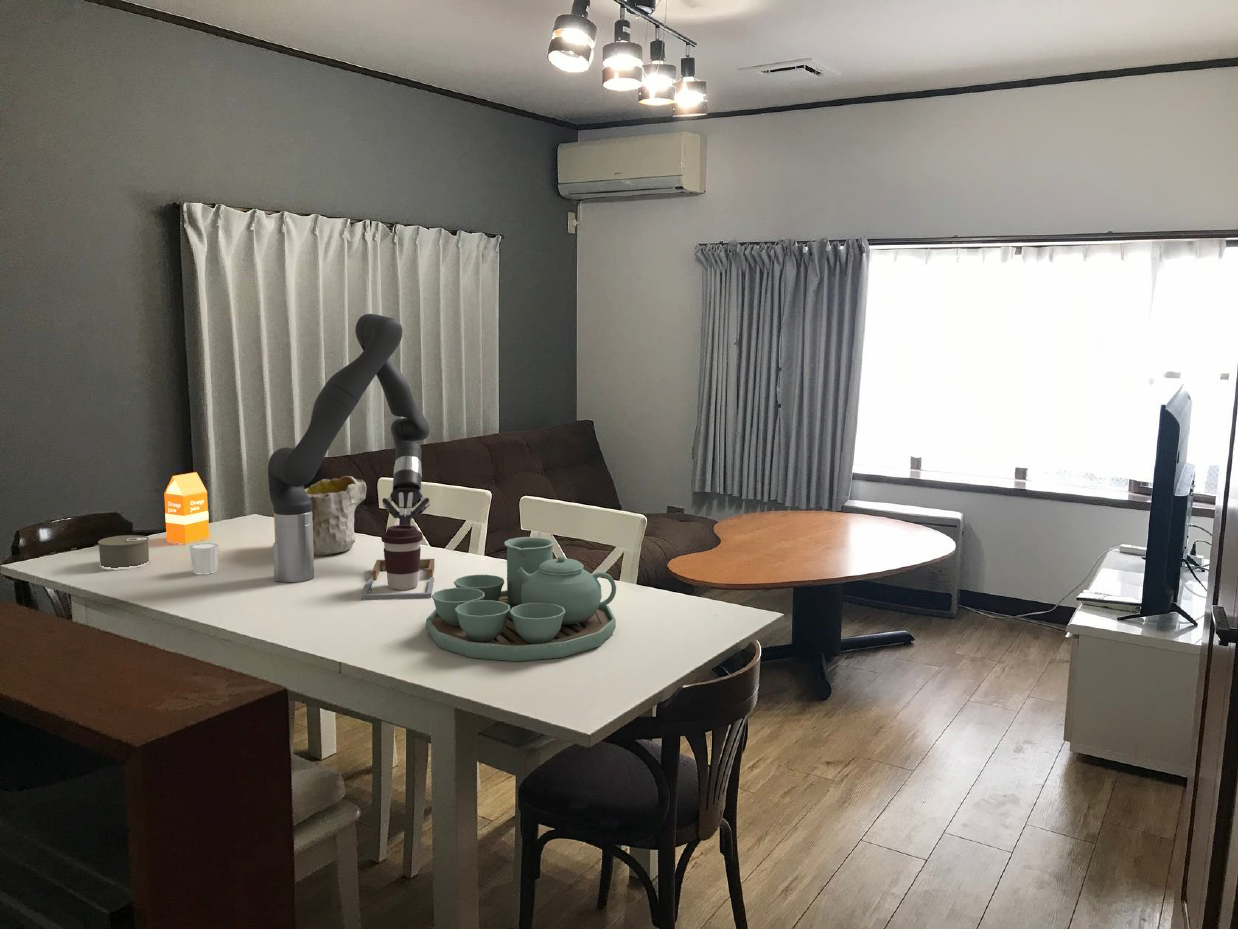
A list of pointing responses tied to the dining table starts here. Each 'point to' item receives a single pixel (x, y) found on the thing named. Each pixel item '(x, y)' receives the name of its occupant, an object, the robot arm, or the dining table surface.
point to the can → (124, 551)
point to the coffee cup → (402, 556)
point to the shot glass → (204, 558)
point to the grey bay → (397, 595)
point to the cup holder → (423, 565)
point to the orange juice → (186, 509)
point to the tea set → (524, 608)
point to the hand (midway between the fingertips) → (404, 529)
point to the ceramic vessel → (334, 513)
